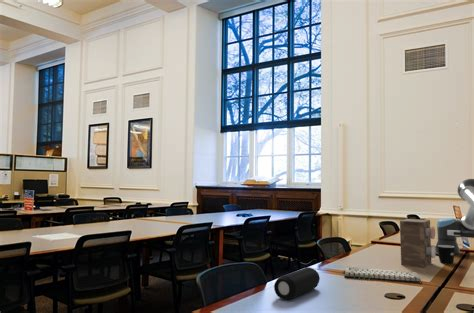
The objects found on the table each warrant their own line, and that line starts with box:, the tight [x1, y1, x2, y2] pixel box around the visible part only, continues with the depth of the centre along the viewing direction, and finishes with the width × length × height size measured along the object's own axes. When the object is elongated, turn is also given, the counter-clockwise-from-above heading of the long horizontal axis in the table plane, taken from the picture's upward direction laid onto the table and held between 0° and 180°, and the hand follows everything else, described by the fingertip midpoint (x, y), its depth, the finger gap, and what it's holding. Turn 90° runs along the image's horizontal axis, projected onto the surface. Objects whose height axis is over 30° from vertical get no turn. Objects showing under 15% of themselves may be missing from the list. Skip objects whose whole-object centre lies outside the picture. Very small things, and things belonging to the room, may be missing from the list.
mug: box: [437, 245, 455, 265], centre depth 236 cm, size 12×9×10 cm
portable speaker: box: [273, 267, 321, 301], centre depth 173 cm, size 26×10×10 cm, turn 140°
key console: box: [399, 218, 432, 269], centre depth 233 cm, size 16×13×26 cm
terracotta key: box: [426, 225, 436, 240], centre depth 231 cm, size 7×12×7 cm, turn 51°
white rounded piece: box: [426, 244, 437, 259], centre depth 230 cm, size 7×12×7 cm, turn 51°
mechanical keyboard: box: [343, 266, 422, 284], centre depth 203 cm, size 38×19×3 cm, turn 73°
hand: (447, 232), depth 222 cm, fingers closed
